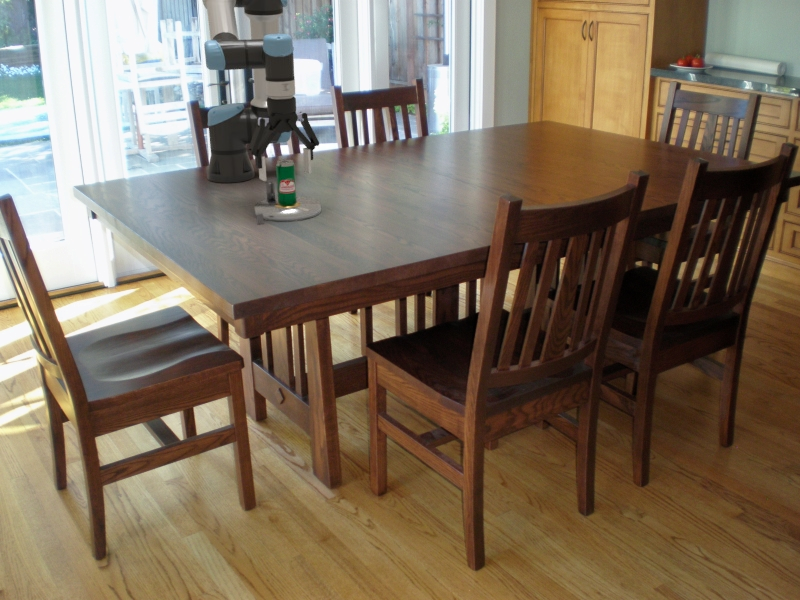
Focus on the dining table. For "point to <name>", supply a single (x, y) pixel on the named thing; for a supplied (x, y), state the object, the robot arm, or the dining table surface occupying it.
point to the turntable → (286, 207)
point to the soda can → (286, 182)
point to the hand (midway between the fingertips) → (285, 176)
